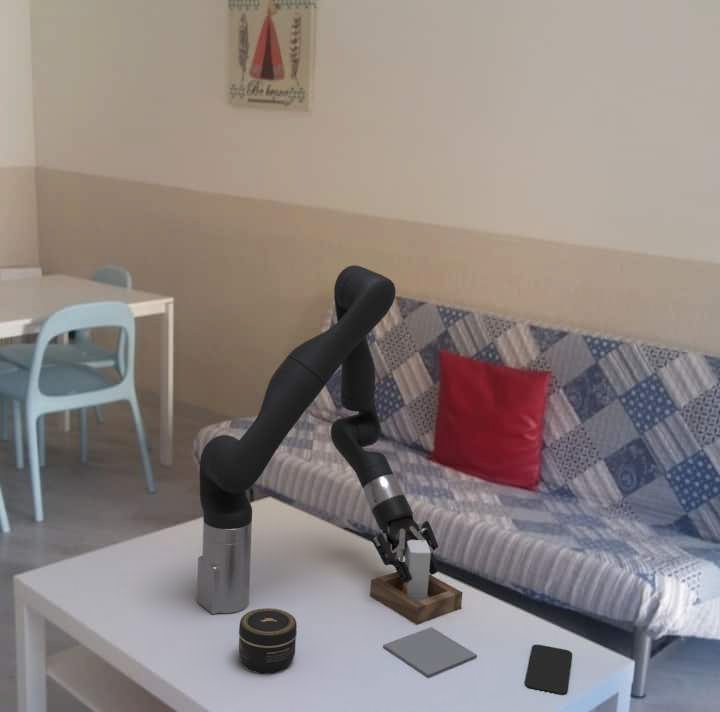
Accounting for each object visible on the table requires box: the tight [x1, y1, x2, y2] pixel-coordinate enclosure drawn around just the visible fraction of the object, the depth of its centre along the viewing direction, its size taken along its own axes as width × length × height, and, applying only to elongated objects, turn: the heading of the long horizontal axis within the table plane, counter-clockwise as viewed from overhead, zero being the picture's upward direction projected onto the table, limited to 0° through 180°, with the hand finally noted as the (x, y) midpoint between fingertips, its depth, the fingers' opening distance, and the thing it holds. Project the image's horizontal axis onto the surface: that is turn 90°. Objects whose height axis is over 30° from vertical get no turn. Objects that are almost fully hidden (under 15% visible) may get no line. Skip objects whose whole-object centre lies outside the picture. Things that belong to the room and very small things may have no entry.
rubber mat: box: [382, 626, 478, 679], centre depth 175 cm, size 12×12×1 cm
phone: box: [524, 644, 573, 696], centre depth 172 cm, size 7×1×15 cm
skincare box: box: [402, 540, 431, 601], centre depth 192 cm, size 6×4×12 cm
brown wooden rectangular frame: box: [369, 571, 463, 625], centre depth 193 cm, size 12×14×4 cm
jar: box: [238, 607, 298, 674], centre depth 168 cm, size 10×10×8 cm
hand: (421, 576), depth 191 cm, fingers closed on skincare box, 6 cm apart
